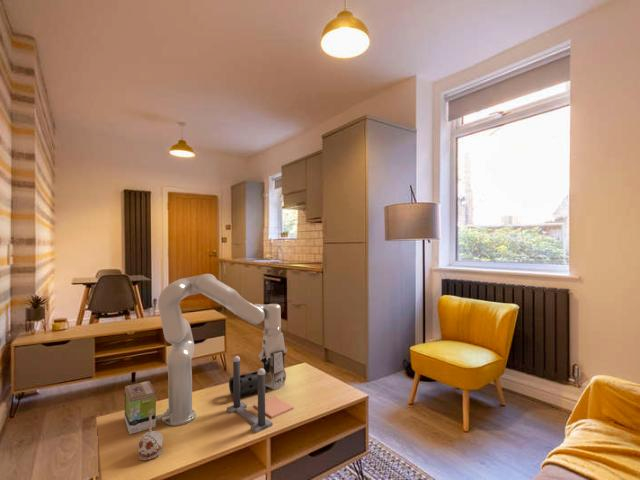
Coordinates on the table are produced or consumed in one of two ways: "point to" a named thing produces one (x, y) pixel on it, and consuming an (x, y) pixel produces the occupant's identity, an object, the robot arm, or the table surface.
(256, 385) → the muzzle brake
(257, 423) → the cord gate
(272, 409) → the terracotta tile
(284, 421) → the table surface
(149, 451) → the decorative ornament
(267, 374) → the coffee box
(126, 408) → the tea box
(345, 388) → the table surface
